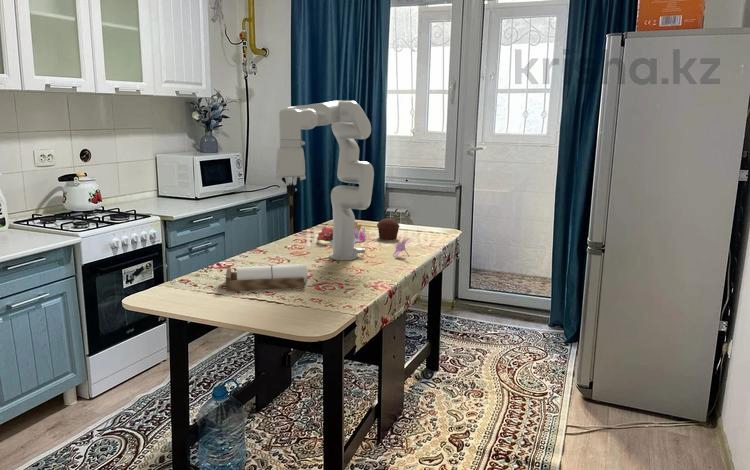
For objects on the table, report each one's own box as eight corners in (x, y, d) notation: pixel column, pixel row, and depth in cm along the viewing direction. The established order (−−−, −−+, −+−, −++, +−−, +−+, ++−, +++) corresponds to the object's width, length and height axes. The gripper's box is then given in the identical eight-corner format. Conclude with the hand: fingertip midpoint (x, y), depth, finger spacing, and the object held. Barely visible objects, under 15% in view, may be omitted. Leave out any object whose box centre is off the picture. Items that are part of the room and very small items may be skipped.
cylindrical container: (307, 269, 206) (236, 272, 200) (306, 286, 209) (237, 290, 203) (304, 260, 212) (236, 263, 206) (304, 277, 215) (237, 280, 209)
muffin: (403, 238, 287) (404, 218, 285) (392, 242, 278) (392, 222, 275) (383, 234, 293) (384, 215, 291) (371, 238, 284) (372, 219, 282)
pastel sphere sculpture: (320, 234, 292) (320, 216, 290) (366, 235, 292) (366, 218, 290) (314, 246, 268) (314, 227, 266) (364, 247, 267) (364, 228, 265)
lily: (396, 254, 259) (388, 239, 255) (418, 247, 256) (410, 231, 252) (394, 267, 250) (386, 252, 246) (416, 260, 246) (408, 244, 242)
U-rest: (301, 278, 217) (301, 265, 216) (304, 287, 205) (304, 274, 204) (227, 280, 211) (227, 268, 210) (226, 291, 200) (225, 277, 198)
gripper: (310, 143, 205) (310, 193, 209) (268, 143, 202) (269, 194, 206) (312, 145, 198) (312, 197, 202) (269, 145, 195) (270, 197, 199)
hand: (291, 195), depth 204 cm, fingers closed
